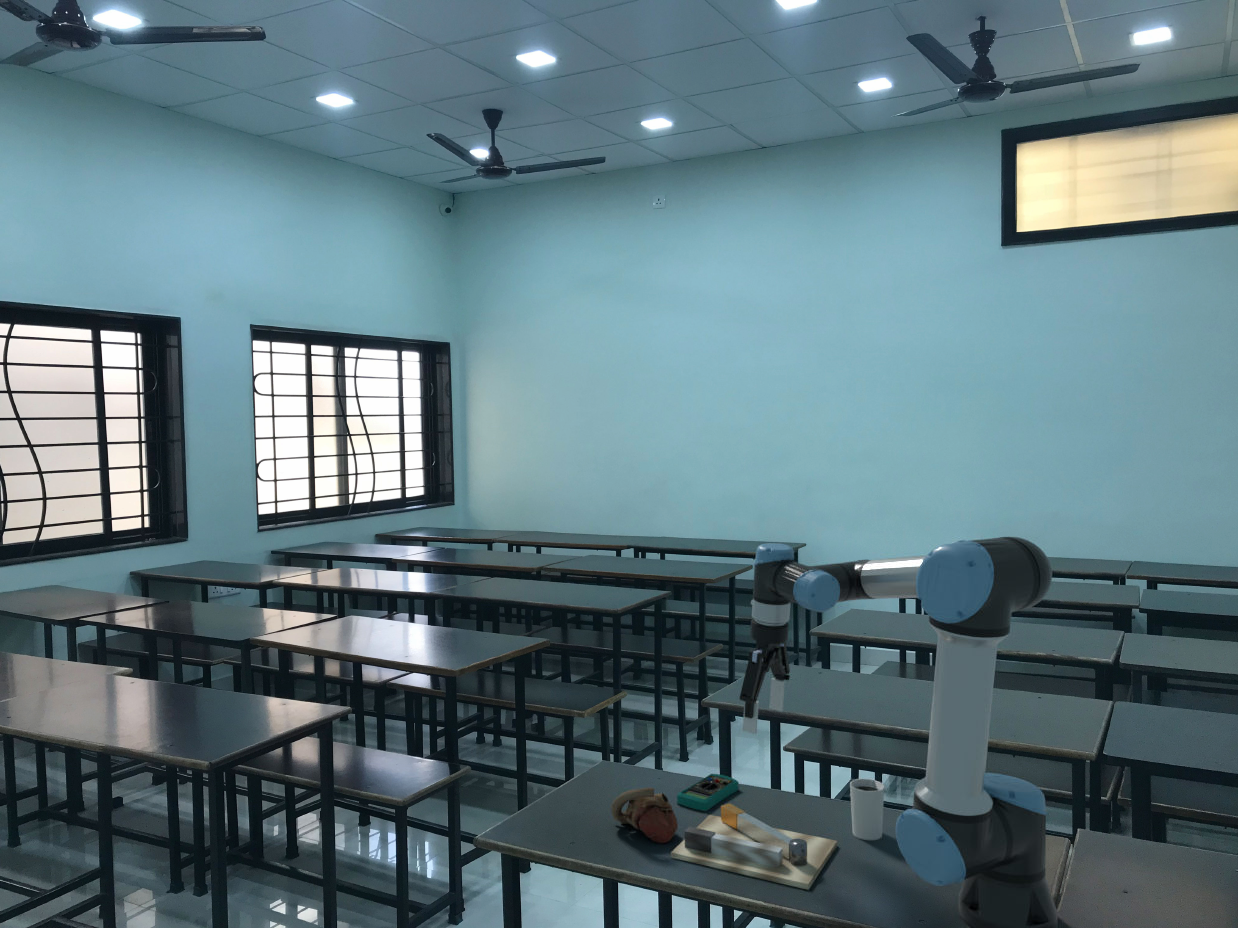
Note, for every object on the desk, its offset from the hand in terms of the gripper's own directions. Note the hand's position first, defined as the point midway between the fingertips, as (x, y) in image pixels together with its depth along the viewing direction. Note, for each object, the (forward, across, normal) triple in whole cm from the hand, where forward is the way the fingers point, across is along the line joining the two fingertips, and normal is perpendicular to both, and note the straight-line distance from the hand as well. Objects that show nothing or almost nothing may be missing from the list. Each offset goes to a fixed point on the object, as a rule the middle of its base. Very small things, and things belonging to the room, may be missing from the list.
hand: (763, 720), depth 184 cm
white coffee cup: (+21, -7, +21) cm, 31 cm away
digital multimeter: (+25, -7, -15) cm, 30 cm away
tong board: (+21, +12, +5) cm, 25 cm away
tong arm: (+20, +9, +5) cm, 23 cm away
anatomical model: (+24, +15, -18) cm, 33 cm away
